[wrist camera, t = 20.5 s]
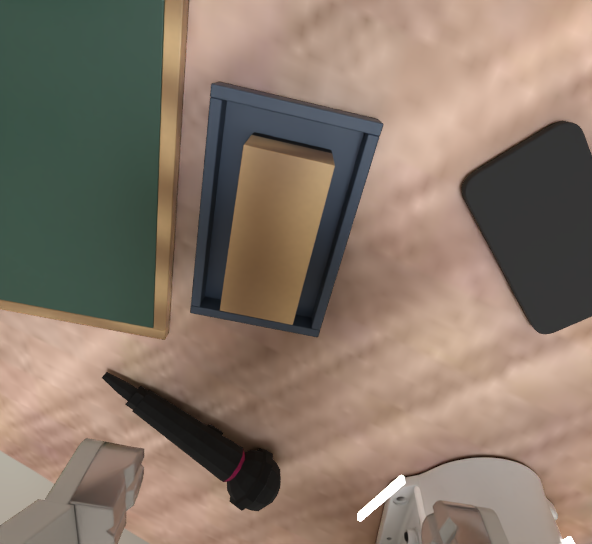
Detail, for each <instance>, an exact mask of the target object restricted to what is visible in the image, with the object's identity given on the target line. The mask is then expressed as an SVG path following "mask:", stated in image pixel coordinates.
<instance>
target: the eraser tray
mask: <svg viewBox="0 0 592 544" xmlns="http://www.w3.org/2000/svg"><path fill="white" fill-rule="evenodd" d="M210 97H211V98H210V106H209V117H208V127H207V138H206V149H205V160H204V171H203V182H202V192H201V203H200V214H199V225H198V236H197V247H196V257H195V268H194V279H193V290H192V301H191V310H190V313H194V314H199V315H204V316H209V317H215V318H220V319H225V320H230V321H235V322H241V323H246V324H251V325H256V326H261V327H267V328H272V329H277V330H282V331H287V332H293V333H298V334H303V335H308V336H313V337H318V335H319V332H320V328H321V325H322V322H323V319H324V315H325V312H326V309H327V306H328V302H329V299H330V296H331V293H332V289H333V286H334V283H335V280H336V276H337V273H338V270H339V267H340V263H341V260H342V257H343V254H344V250H345V247H346V244H347V241H348V237H349V234H350V231H351V228H352V224H353V221H354V218H355V215H356V211H357V208H358V205H359V202H360V198H361V195H362V192H363V189H364V185H365V182H366V179H367V176H368V172H369V169H370V166H371V163H372V159H373V156H374V153H375V150H376V146H377V143H378V140H379V136H380V134H381V131H382V127H383V123H382V122H380V121H379V120H378V119H375V118H371V117H367V116H363V115H359V114H354V113H350V112H346V111H342V110H337V109H333V108H329V107H325V106H320V105H316V104H312V103H308V102H303V101H299V100H295V99H291V98H287V97H282V96H278V95H274V94H270V93H265V92H261V91H257V90H253V89H248V88H244V87H240V86H236V85H232V84H227V83H223V82H216V83H212V84H211V93H210ZM254 132H256V133H260V134H265V135H269V136H273V137H278V138H282V139H286V140H290V141H295V142H299V143H303V144H308V145H312V146H316V147H320V148H325V149H329V150H332V154H333V159H334V164H335V168H334V172H333V175H332V179H331V183H330V187H329V190H328V194H327V198H326V202H325V205H324V209H323V213H322V217H321V220H320V224H319V228H318V232H317V235H316V239H315V243H314V247H313V250H312V254H311V258H310V262H309V266H308V269H307V273H306V277H305V281H304V284H303V288H302V292H301V296H300V299H299V303H298V307H297V311H296V314H295V318H294V322H293V325H290V324H285V323H280V322H275V321H270V320H265V319H260V318H255V317H250V316H245V315H240V314H235V313H230V312H225V311H220V305H221V298H222V291H223V284H224V277H225V270H226V263H227V256H228V249H229V243H230V236H231V229H232V222H233V215H234V208H235V201H236V194H237V187H238V180H239V173H240V166H241V159H242V152H243V145H244V144H245V143H246V141H247V140H248V139H249V138H250V136H251V135H252V134H253V133H254Z"/></svg>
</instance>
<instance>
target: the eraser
mask: <svg viewBox="0 0 592 544" xmlns="http://www.w3.org/2000/svg"><path fill="white" fill-rule="evenodd" d="M334 168H335V164H334V159H333V154H332V150H329V149H325V148H320V147H316V146H312V145H308V144H303V143H299V142H295V141H290V140H286V139H282V138H278V137H273V136H269V135H265V134H260V133H256V132H254V133H253V134H252V135H251V136H250V138H249V139H248V140H247V141H246V143H245V144H244V145H243V152H242V159H241V166H240V173H239V180H238V187H237V194H236V201H235V208H234V215H233V222H232V229H231V236H230V243H229V249H228V256H227V263H226V270H225V277H224V284H223V291H222V298H221V305H220V311H225V312H230V313H235V314H240V315H245V316H250V317H255V318H260V319H265V320H270V321H275V322H280V323H285V324H290V325H293V322H294V318H295V314H296V311H297V307H298V303H299V299H300V296H301V292H302V288H303V284H304V281H305V277H306V273H307V269H308V266H309V262H310V258H311V254H312V250H313V247H314V243H315V239H316V235H317V232H318V228H319V224H320V220H321V217H322V213H323V209H324V205H325V202H326V198H327V194H328V190H329V187H330V183H331V179H332V175H333V172H334Z"/></svg>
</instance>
